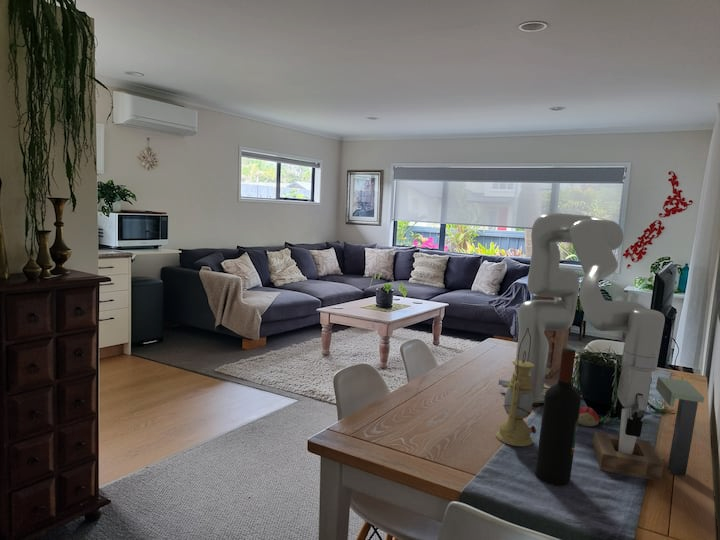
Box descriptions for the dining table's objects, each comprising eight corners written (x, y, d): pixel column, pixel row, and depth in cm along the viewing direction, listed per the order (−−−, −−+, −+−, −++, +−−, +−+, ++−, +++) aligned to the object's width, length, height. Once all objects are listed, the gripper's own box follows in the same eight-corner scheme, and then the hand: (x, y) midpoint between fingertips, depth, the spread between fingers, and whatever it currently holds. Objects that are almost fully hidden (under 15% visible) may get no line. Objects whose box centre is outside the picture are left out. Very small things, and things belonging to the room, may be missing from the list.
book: (541, 358, 217) (550, 286, 213) (565, 363, 212) (574, 289, 208) (524, 372, 196) (534, 293, 192) (549, 379, 191) (560, 297, 187)
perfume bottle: (637, 465, 128) (647, 406, 126) (618, 462, 129) (628, 404, 126) (631, 456, 132) (641, 399, 130) (612, 453, 133) (622, 396, 131)
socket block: (600, 469, 126) (602, 453, 125) (592, 446, 138) (594, 431, 138) (660, 481, 123) (663, 465, 122) (646, 456, 135) (649, 441, 135)
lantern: (528, 453, 132) (542, 336, 127) (489, 441, 137) (502, 328, 132) (539, 436, 142) (553, 327, 138) (503, 426, 147) (515, 320, 143)
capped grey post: (657, 479, 123) (672, 392, 120) (645, 456, 135) (657, 376, 132) (691, 486, 121) (706, 397, 119) (675, 462, 133) (689, 381, 130)
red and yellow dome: (573, 424, 152) (574, 413, 152) (574, 413, 161) (575, 401, 161) (598, 430, 150) (600, 418, 149) (598, 418, 158) (599, 406, 158)
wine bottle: (529, 468, 124) (545, 344, 120) (560, 468, 125) (577, 345, 121) (543, 485, 117) (560, 354, 113) (576, 486, 117) (594, 356, 113)
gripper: (615, 347, 136) (605, 410, 139) (630, 368, 120) (618, 439, 123) (647, 352, 134) (636, 415, 137) (667, 374, 118) (654, 445, 121)
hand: (628, 426), depth 130 cm, fingers open, 9 cm apart
